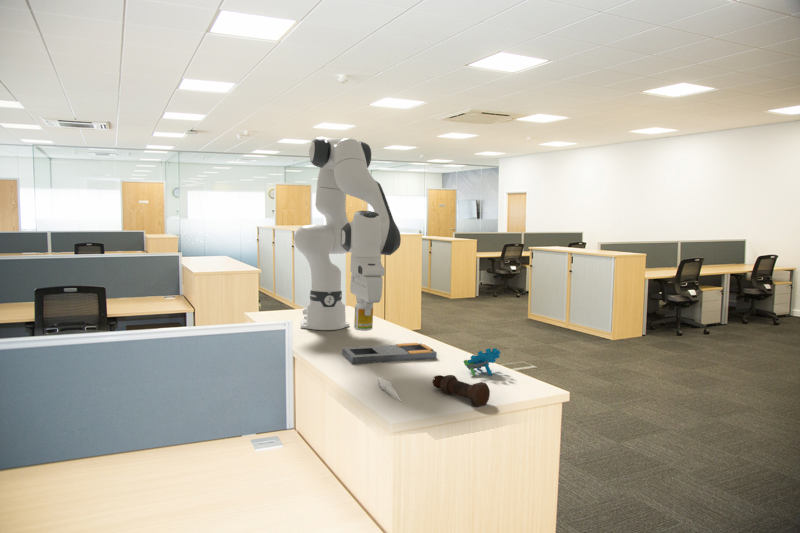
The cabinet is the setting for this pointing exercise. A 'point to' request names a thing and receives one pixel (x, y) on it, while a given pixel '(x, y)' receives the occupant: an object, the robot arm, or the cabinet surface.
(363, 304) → the supplement bottle
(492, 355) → the blue lobed piece
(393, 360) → the gray and orange holder
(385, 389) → the stone spearhead
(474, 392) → the bolt
